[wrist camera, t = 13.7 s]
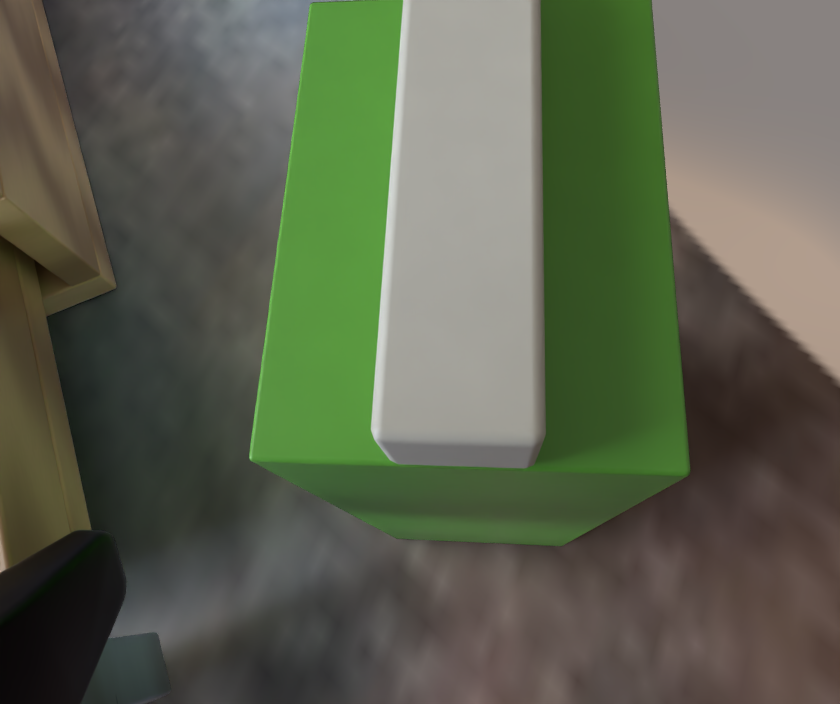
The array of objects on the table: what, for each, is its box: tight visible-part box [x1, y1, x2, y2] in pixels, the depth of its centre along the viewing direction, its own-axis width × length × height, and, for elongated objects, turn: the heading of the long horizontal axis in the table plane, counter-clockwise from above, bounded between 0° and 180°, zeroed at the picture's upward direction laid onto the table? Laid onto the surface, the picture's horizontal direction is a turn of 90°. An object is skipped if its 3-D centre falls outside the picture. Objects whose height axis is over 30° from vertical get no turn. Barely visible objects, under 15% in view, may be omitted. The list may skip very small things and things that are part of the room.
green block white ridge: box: [249, 0, 691, 546], centre depth 10 cm, size 5×4×10 cm
